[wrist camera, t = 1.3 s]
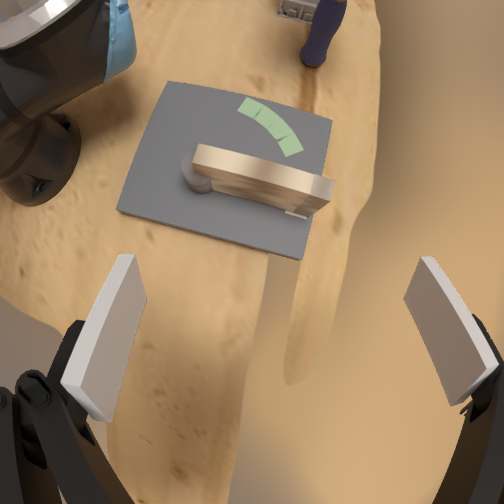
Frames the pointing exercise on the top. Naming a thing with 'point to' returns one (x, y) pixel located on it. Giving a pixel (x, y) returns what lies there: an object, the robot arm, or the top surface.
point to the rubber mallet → (322, 30)
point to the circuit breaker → (298, 9)
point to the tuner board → (229, 138)
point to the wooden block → (255, 180)
